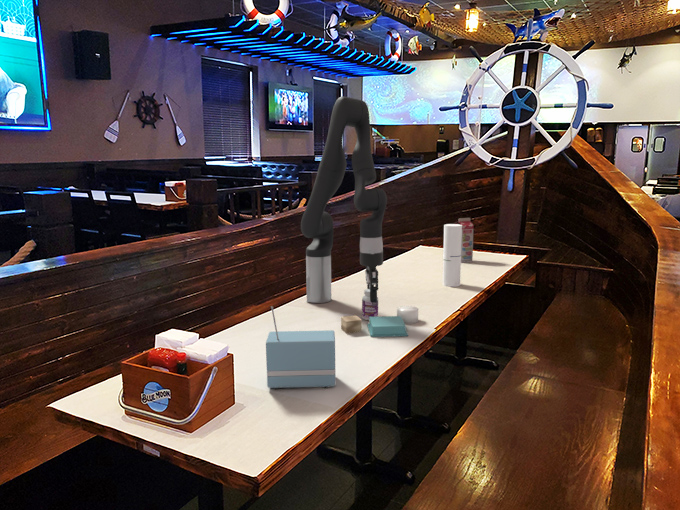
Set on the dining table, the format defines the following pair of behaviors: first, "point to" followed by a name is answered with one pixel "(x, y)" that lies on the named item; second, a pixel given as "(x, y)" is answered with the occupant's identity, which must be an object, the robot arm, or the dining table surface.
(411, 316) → the white rounded puck
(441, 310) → the dining table surface
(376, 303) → the pill bottle
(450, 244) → the cylindrical container
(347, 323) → the tan square block
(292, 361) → the radio
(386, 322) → the podium
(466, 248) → the juice carton
